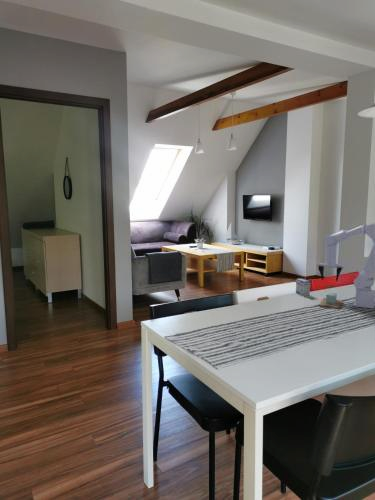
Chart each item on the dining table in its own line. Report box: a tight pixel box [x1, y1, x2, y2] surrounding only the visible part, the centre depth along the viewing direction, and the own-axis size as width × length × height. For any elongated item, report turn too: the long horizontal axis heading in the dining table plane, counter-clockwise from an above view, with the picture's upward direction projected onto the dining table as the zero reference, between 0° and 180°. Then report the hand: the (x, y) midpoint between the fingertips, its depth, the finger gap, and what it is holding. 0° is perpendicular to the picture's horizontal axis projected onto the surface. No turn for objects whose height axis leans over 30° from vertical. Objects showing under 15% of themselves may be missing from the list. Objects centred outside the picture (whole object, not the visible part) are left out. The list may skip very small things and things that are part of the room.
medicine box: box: [295, 278, 311, 297], centre depth 222 cm, size 8×4×9 cm, turn 17°
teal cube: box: [325, 292, 338, 304], centre depth 201 cm, size 4×4×4 cm
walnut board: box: [318, 298, 344, 310], centre depth 201 cm, size 10×14×1 cm
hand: (329, 280), depth 213 cm, fingers open, 7 cm apart
